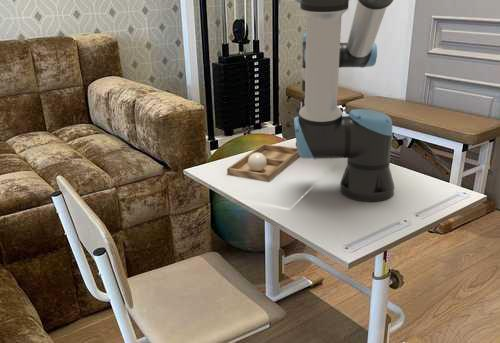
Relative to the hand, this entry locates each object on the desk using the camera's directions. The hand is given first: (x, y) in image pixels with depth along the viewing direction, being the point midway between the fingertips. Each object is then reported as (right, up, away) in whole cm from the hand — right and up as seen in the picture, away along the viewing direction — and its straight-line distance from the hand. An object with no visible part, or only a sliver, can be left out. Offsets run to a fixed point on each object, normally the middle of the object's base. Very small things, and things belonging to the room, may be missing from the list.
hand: (312, 139), depth 176 cm
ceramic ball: (-20, -11, -18) cm, 29 cm away
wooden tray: (-17, -10, -12) cm, 23 cm away
